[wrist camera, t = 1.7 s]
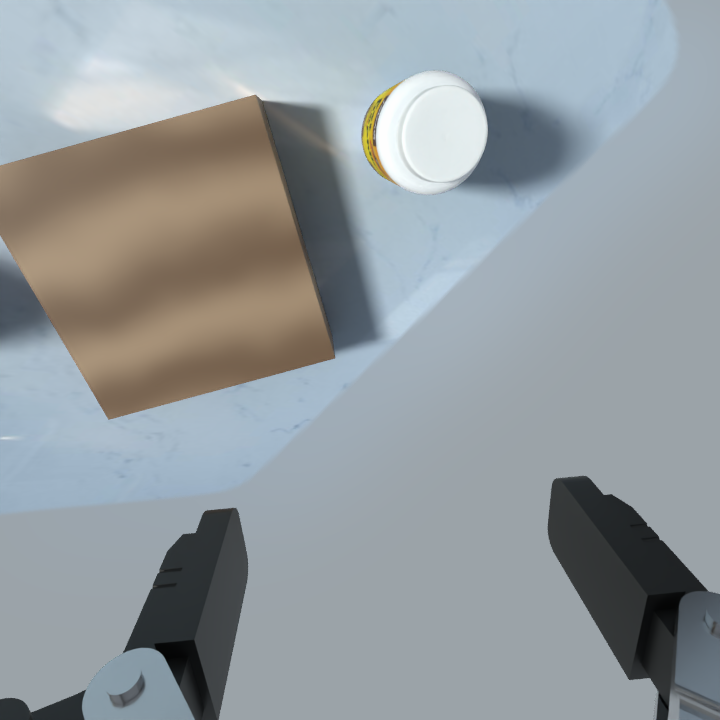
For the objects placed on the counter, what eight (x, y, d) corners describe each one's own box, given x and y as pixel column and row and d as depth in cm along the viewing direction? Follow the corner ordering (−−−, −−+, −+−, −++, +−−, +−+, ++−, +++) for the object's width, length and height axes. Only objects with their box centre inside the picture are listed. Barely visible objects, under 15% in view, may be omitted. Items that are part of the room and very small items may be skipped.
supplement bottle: (356, 89, 28) (380, 65, 19) (445, 82, 29) (511, 56, 20) (362, 186, 31) (387, 206, 22) (445, 179, 31) (503, 195, 22)
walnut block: (8, 170, 28) (-35, 175, 25) (261, 100, 28) (255, 94, 25) (128, 391, 35) (108, 419, 32) (332, 335, 35) (335, 358, 32)
